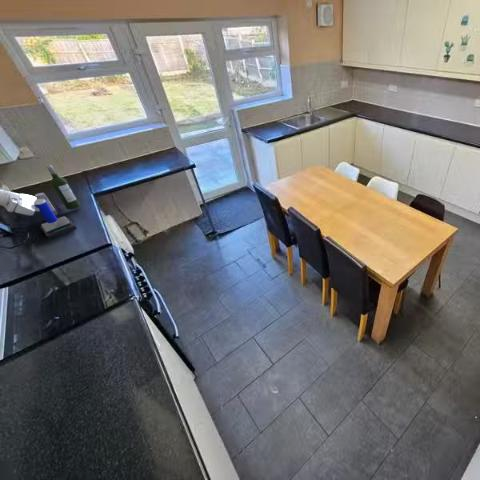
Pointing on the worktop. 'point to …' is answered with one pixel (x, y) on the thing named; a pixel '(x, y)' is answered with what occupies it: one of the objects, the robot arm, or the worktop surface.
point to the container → (43, 196)
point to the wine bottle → (63, 190)
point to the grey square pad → (56, 224)
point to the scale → (60, 230)
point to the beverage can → (45, 211)
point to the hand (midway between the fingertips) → (45, 209)
